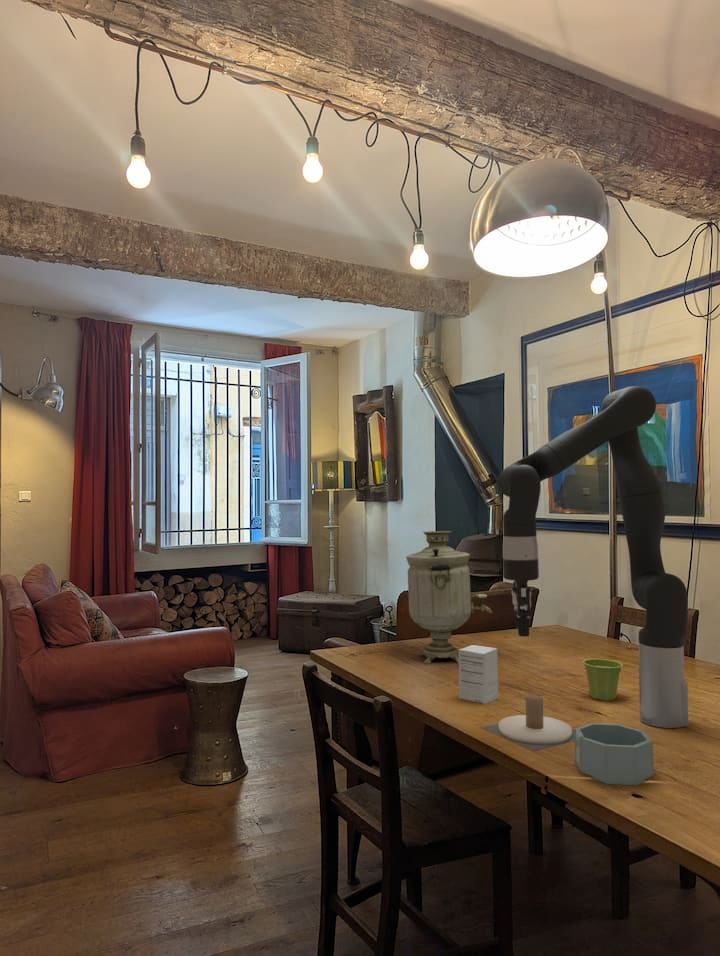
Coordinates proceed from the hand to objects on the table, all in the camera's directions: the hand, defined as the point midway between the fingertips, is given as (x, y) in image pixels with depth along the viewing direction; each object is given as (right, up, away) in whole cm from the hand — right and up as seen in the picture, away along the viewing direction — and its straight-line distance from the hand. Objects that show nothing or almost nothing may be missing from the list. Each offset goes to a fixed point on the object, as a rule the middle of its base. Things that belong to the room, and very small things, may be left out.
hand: (522, 632), depth 146 cm
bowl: (+11, -20, -23) cm, 32 cm away
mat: (+2, -21, -3) cm, 21 cm away
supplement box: (-6, -22, +22) cm, 32 cm away
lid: (+2, -20, -3) cm, 21 cm away
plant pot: (+26, -22, +24) cm, 41 cm away
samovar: (-7, -24, +65) cm, 69 cm away
